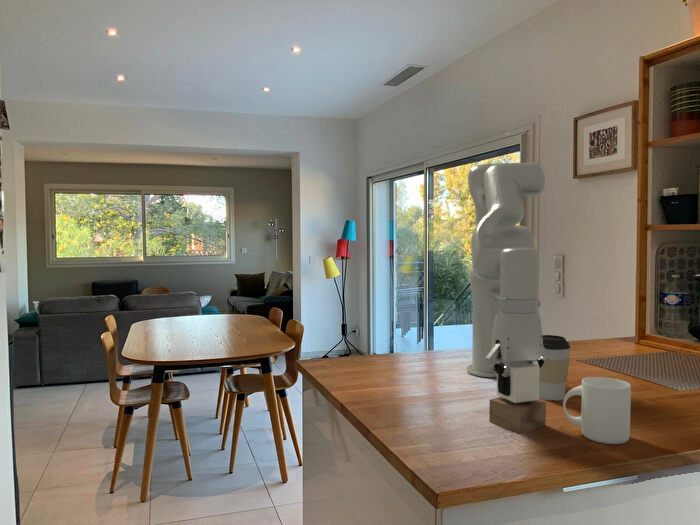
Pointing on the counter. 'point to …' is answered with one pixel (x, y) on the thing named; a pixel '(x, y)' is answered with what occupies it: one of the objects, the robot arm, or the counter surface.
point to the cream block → (522, 382)
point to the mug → (603, 409)
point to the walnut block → (517, 414)
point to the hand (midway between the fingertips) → (517, 391)
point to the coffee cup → (554, 368)
